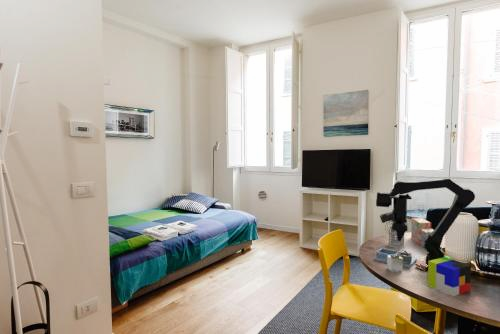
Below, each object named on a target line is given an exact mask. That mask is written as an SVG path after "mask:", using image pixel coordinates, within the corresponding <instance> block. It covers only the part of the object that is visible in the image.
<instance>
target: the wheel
mask: <svg viewBox="0 0 500 334" xmlns="http://www.w3.org/2000/svg"><path fill="white" fill-rule="evenodd" d="M398 255H399V256H400V257H401V258H403V262H411V259H412V258H413V257H412V252H403V251H400V252H398ZM405 255H406V256H405Z"/></svg>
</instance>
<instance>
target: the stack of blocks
mask: <svg viewBox="0 0 500 334" xmlns="http://www.w3.org/2000/svg"><path fill="white" fill-rule="evenodd" d="M410 229H411V239H412V240H413V241H414V242H416V243H417V244H418V245H420V246H421V247H422V248H424V244H423V241H424V240H423V237H425V236H426V234H427V232H428V231H429V232H430V233H431V232H433V231H434V230H435V229H433V228H432V222H430V221H428V220H427V219H425V218H423V217H411V227H410ZM424 249H425V248H424Z"/></svg>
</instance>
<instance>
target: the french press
mask: <svg viewBox="0 0 500 334" xmlns="http://www.w3.org/2000/svg"><path fill="white" fill-rule="evenodd" d="M392 223H394V222H392V220H391V221H387V222H385V225H384V231H387V232H386V234H388V243H386V245H387V246H388V247H391V248H395V249H404V248H407V245H406V244H405V234H404V235H403V237H402V239H401V241H398V238H397V233H396V230H392V226H389V225H392ZM388 227H389V229H388Z"/></svg>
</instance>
